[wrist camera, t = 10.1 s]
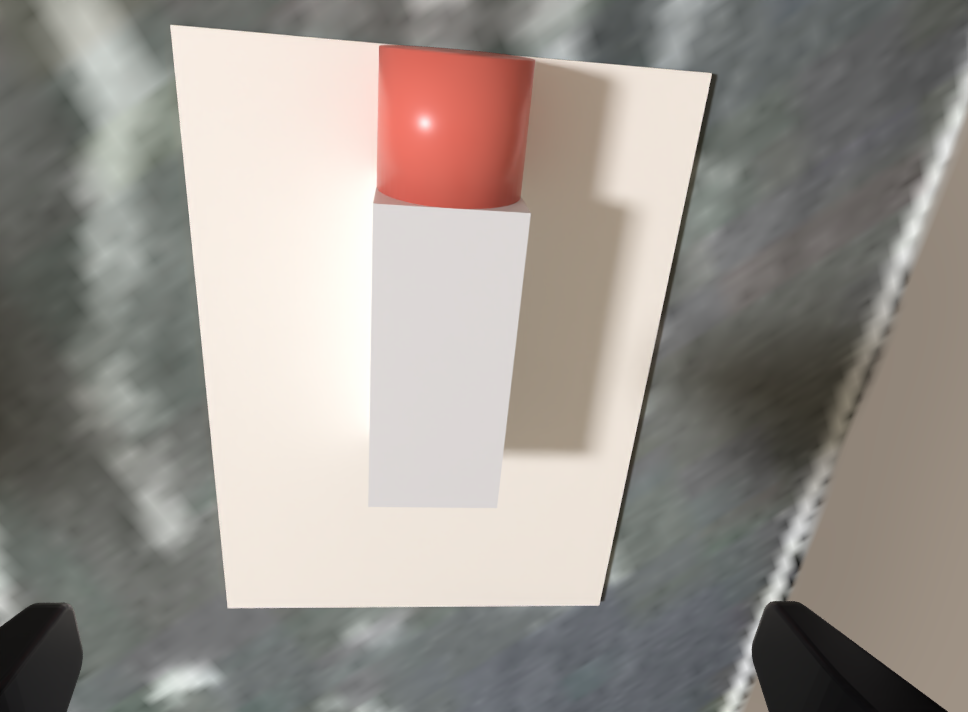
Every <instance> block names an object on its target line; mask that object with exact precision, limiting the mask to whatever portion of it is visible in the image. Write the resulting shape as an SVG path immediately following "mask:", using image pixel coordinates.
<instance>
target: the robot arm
mask: <svg viewBox="0 0 968 712" xmlns="http://www.w3.org/2000/svg"><path fill="white" fill-rule="evenodd" d="M752 658H753V663H754V666H755V670H756V673H757V676H758V679H759V682H760V685H761V688H762V692H763V695H764V698H765V701H766V704H767V707H768V710H769V712H948V711H946V710H945V709H944V708H942V707H941V706H939V705H938V704H937V703H936V702H934V701H933V700H931V699H930V698H929V697H927V696H926V695H925V694H923V693H922V692H921V691H919V690H918V689H916V688H915V687H914V686H913V685H911V684H910V683H909V682H907V681H906V680H904V679H903V678H902V677H900V676H899V675H898V674H896V673H895V672H894V671H892V670H891V669H890V668H888V667H887V666H886V665H884V664H883V663H882V662H880V661H879V660H877V659H876V658H875V657H873V656H872V655H871V654H869V653H868V652H867V651H865V650H864V649H863V648H861V647H860V646H859V645H857V644H856V643H854V642H853V641H852V640H850V639H849V638H848V637H846V636H845V635H844V634H842V633H841V632H840V631H838V630H837V629H835V628H834V627H833V626H831V625H830V624H829V623H827V622H826V621H825V620H823V619H822V618H821V617H819V616H818V615H817V614H815V613H814V612H813V611H811V610H810V609H809V608H807V607H806V606H804V605H803V604H801V603H799V602H795V601H773V602H770V603H769V604H768V605H767V606H766V607H765V609H764V612H763V615H762V617H761V620H760V623H759V626H758V629H757V632H756V634H755V637H754V640H753V644H752ZM82 660H83V650H82V645H81V640H80V635H79V631H78V626H77V622H76V617H75V612H74V610H73V608H72V606H71V605H70V604H67V603H35V604H32V605H30V606H28V607H27V608H25V609H24V610H23V611H21V612H20V613H19V614H17V615H16V616H14V617H13V618H12V619H10V620H9V621H8V622H6V623H5V624H4V625H2V626H1V627H0V712H67V709H68V706H69V703H70V700H71V697H72V694H73V691H74V688H75V686H76V683H77V680H78V677H79V674H80V670H81V666H82Z"/></svg>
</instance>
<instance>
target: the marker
mask: <svg viewBox="0 0 968 712" xmlns="http://www.w3.org/2000/svg"><path fill="white" fill-rule="evenodd" d="M534 69H535V59H531V58H526V57H520V56H513V55H506V54H498V53H489V52H480V51H470V50H460V49H448V48H436V47H422V46H405V45H380V46H379V74H378V131H377V186H376V191H375V196H374V201H373V236H372V300H371V364H370V428H369V493H368V507H433V508H497V503H498V495H499V486H500V477H501V469H502V460H503V451H504V442H505V434H506V425H507V416H508V408H509V399H510V390H511V382H512V373H513V364H514V356H515V347H516V338H517V330H518V321H519V312H520V303H521V295H522V286H523V277H524V269H525V260H526V251H527V243H528V234H529V225H530V217H531V213H530V211H529V209H528V207H527V206H526V204H525V202H524V201H523V199H522V197H521V190H522V181H523V171H524V162H525V153H526V143H527V134H528V125H529V115H530V106H531V97H532V88H533V78H534Z"/></svg>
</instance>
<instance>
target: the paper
mask: <svg viewBox="0 0 968 712" xmlns="http://www.w3.org/2000/svg"><path fill="white" fill-rule="evenodd" d="M170 26H171V36H172V47H173V57H174V67H175V77H176V87H177V97H178V107H179V118H180V128H181V138H182V148H183V158H184V168H185V178H186V189H187V199H188V209H189V219H190V229H191V239H192V249H193V260H194V270H195V280H196V290H197V300H198V310H199V320H200V331H201V341H202V351H203V361H204V371H205V381H206V391H207V402H208V412H209V422H210V432H211V442H212V452H213V462H214V473H215V483H216V493H217V503H218V513H219V523H220V533H221V544H222V554H223V564H224V574H225V584H226V594H227V604H228V608H318V607H457V606H595V605H599V604H600V600H601V595H602V590H603V585H604V581H605V576H606V571H607V567H608V562H609V557H610V552H611V548H612V543H613V538H614V534H615V529H616V524H617V519H618V515H619V510H620V505H621V500H622V496H623V491H624V486H625V482H626V477H627V472H628V467H629V463H630V458H631V453H632V449H633V444H634V439H635V434H636V430H637V425H638V420H639V416H640V411H641V406H642V401H643V397H644V392H645V387H646V383H647V378H648V373H649V368H650V364H651V359H652V354H653V350H654V345H655V340H656V335H657V331H658V326H659V321H660V317H661V312H662V307H663V302H664V298H665V293H666V288H667V284H668V279H669V274H670V269H671V265H672V260H673V255H674V251H675V246H676V241H677V236H678V232H679V227H680V222H681V218H682V213H683V208H684V203H685V199H686V194H687V189H688V185H689V180H690V175H691V170H692V166H693V161H694V156H695V152H696V147H697V142H698V137H699V133H700V128H701V123H702V119H703V114H704V109H705V104H706V100H707V95H708V90H709V86H710V81H711V76H712V73H705V72H694V71H682V70H671V69H660V68H649V67H638V66H627V65H616V64H604V63H593V62H582V61H571V60H560V59H549V58H538V57H526V56H520V57H526V58H531V59H535V69H534V78H533V88H532V97H531V106H530V115H529V125H528V134H527V143H526V153H525V162H524V171H523V181H522V190H521V197H522V199H523V201H524V202H525V204H526V206H527V207H528V209H529V211H530V213H531V217H530V225H529V234H528V243H527V251H526V260H525V269H524V277H523V286H522V295H521V303H520V312H519V321H518V330H517V338H516V347H515V356H514V364H513V373H512V382H511V390H510V399H509V408H508V416H507V425H506V434H505V442H504V451H503V460H502V469H501V477H500V486H499V495H498V503H497V508H433V507H368V493H369V428H370V364H371V300H372V236H373V201H374V196H375V191H376V186H377V131H378V74H379V46H380V45H393V44H381V43H370V42H359V41H348V40H337V39H326V38H314V37H303V36H292V35H281V34H270V33H259V32H248V31H236V30H225V29H214V28H203V27H192V26H181V25H170ZM513 56H515V55H513Z"/></svg>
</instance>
